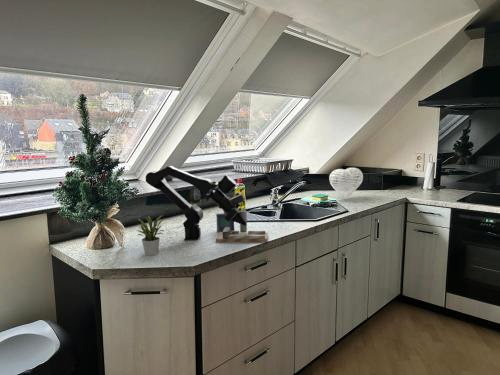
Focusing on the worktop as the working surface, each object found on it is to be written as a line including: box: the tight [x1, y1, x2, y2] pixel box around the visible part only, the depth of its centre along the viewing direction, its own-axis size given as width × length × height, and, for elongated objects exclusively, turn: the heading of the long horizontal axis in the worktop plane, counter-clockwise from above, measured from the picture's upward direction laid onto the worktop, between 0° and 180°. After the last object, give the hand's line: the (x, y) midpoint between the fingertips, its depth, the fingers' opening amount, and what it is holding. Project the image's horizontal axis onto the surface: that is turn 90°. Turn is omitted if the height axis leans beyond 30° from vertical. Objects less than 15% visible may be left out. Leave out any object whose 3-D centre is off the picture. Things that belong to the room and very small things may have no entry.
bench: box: [215, 227, 269, 243], centre depth 177 cm, size 23×11×4 cm, turn 86°
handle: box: [238, 210, 249, 235], centre depth 176 cm, size 4×7×11 cm, turn 176°
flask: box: [216, 210, 235, 233], centre depth 191 cm, size 9×3×11 cm, turn 72°
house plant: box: [136, 214, 166, 256], centre depth 158 cm, size 14×14×16 cm
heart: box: [328, 167, 364, 200], centre depth 272 cm, size 28×16×22 cm, turn 129°
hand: (246, 223), depth 176 cm, fingers closed on handle, 3 cm apart
